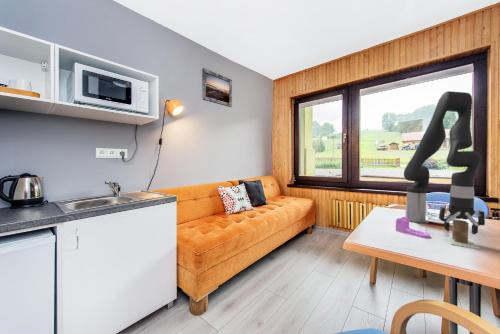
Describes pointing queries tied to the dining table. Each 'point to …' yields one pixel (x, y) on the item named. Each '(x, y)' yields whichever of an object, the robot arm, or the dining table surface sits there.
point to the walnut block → (460, 231)
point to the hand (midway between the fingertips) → (460, 232)
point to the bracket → (403, 226)
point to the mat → (470, 243)
